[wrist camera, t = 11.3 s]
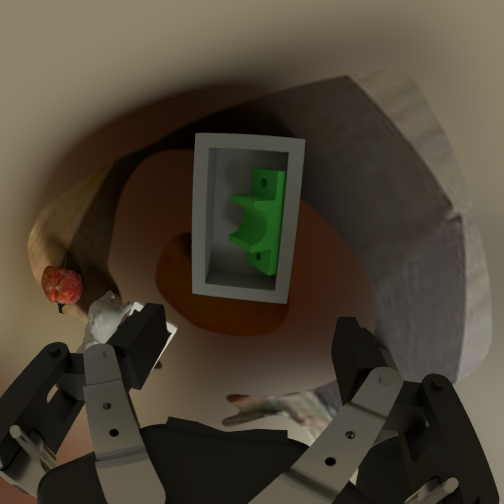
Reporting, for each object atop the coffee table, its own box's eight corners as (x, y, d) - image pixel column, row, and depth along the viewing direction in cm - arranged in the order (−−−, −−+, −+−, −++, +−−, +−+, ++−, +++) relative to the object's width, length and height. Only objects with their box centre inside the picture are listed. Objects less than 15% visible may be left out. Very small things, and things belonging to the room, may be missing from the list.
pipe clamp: (231, 166, 28) (256, 169, 25) (260, 168, 30) (287, 171, 27) (227, 265, 32) (249, 280, 28) (253, 260, 34) (277, 274, 30)
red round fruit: (62, 257, 41) (53, 311, 37) (40, 243, 34) (29, 305, 30) (94, 260, 41) (85, 318, 38) (73, 246, 34) (62, 313, 31)
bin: (285, 284, 36) (286, 303, 31) (203, 276, 36) (192, 293, 32) (300, 142, 30) (305, 139, 25) (207, 136, 30) (195, 133, 26)
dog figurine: (99, 336, 43) (68, 371, 33) (107, 282, 38) (68, 316, 28) (122, 350, 43) (95, 389, 33) (135, 298, 39) (100, 338, 29)
